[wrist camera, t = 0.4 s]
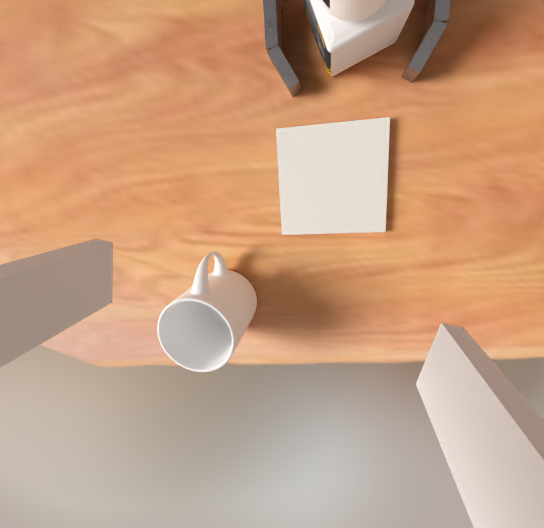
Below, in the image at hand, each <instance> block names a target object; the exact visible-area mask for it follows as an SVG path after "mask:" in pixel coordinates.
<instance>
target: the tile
mask: <svg viewBox="0 0 544 528" xmlns="http://www.w3.org/2000/svg"><path fill="white" fill-rule="evenodd" d="M389 132H390V117H386V118H376V119H366V120H357V121H347V122H337V123H327V124H317V125H307V126H297V127H287V128H278V129H276V135H277V153H278V172H279V190H280V208H281V226H282V235H297V234H331V233H365V232H386V208H387V183H388V158H389Z"/></svg>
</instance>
